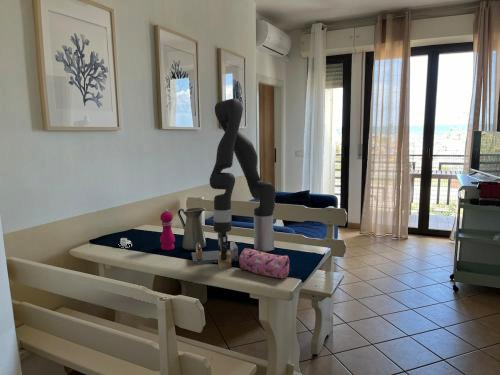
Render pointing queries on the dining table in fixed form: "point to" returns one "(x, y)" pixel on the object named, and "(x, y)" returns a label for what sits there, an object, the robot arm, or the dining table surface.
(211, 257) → the vise base
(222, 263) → the oak block
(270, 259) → the pencil case
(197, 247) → the sliding jaw
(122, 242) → the white looped part
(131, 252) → the dining table surface
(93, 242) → the dining table surface
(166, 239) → the pepper mill
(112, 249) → the dining table surface
